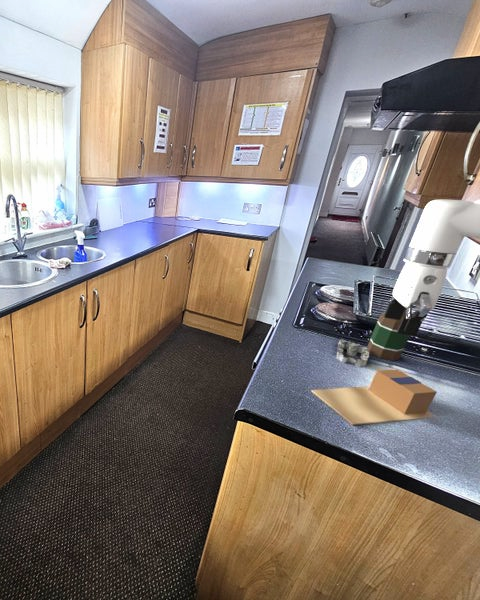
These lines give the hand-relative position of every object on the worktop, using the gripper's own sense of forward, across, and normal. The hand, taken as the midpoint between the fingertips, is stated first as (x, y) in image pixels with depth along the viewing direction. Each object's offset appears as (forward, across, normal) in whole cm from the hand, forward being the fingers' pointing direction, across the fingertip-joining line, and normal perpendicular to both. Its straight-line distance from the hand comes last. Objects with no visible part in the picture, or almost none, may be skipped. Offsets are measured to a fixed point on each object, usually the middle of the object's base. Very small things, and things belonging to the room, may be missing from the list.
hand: (398, 326), depth 79 cm
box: (+18, -4, -4) cm, 19 cm away
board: (+18, -8, +2) cm, 20 cm away
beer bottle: (+18, +21, -7) cm, 29 cm away
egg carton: (+18, +15, +2) cm, 24 cm away
